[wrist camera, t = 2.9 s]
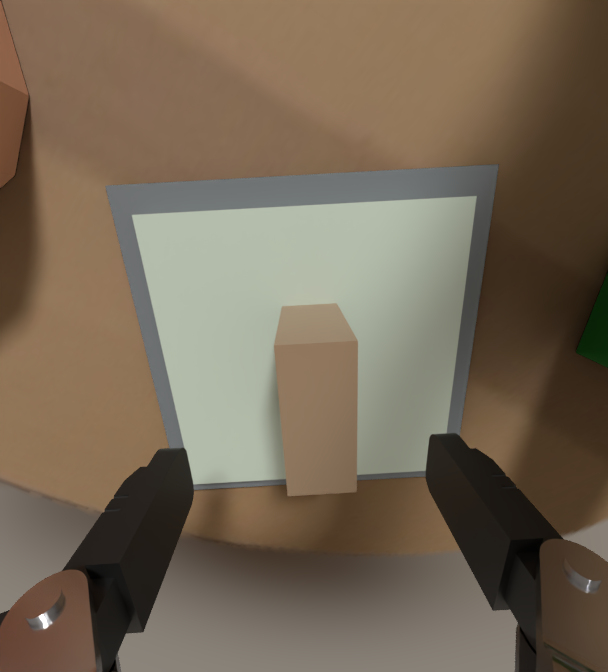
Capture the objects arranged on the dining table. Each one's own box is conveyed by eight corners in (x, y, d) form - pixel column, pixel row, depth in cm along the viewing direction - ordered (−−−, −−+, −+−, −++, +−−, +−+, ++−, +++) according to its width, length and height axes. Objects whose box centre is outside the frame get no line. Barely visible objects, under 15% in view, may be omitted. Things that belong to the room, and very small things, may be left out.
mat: (491, 166, 16) (499, 164, 15) (450, 468, 22) (454, 474, 22) (112, 187, 16) (105, 185, 15) (183, 484, 22) (180, 490, 22)
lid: (465, 198, 16) (590, 172, 9) (435, 459, 21) (498, 562, 14) (141, 216, 15) (25, 202, 9) (197, 473, 21) (151, 583, 14)
